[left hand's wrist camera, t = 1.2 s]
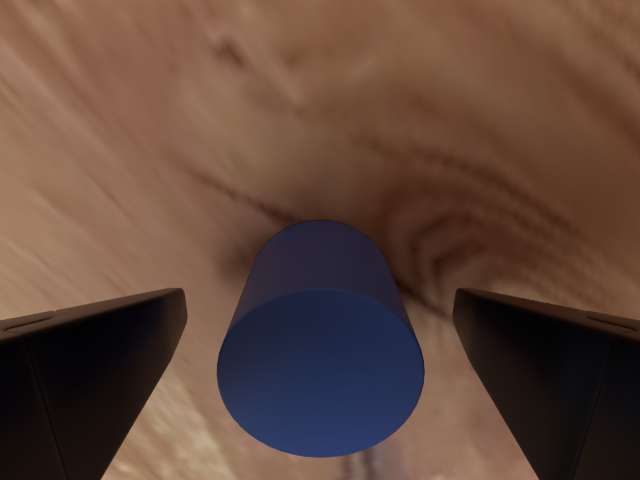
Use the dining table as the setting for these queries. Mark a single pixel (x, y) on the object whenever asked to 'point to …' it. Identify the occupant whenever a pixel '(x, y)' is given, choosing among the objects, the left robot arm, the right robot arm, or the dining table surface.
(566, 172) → the dining table surface
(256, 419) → the canister
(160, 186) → the dining table surface
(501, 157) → the dining table surface
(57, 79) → the dining table surface
